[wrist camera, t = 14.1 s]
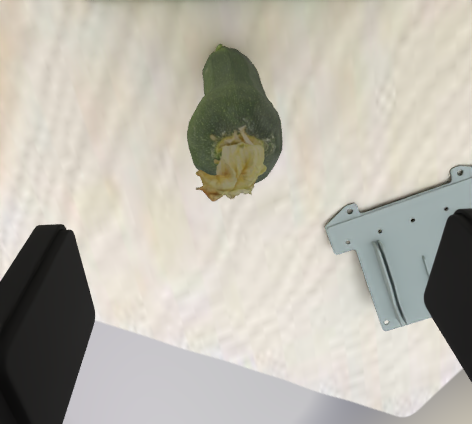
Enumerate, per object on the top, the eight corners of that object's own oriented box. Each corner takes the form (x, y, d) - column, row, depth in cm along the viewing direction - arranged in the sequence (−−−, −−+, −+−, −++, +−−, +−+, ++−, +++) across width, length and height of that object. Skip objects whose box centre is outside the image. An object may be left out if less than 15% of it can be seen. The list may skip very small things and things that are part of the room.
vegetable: (266, 70, 30) (342, 207, 13) (226, 112, 32) (250, 285, 15) (222, 26, 29) (244, 118, 12) (182, 73, 30) (151, 216, 13)
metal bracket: (534, 307, 37) (371, 356, 39) (497, 279, 42) (356, 323, 44) (501, 159, 33) (324, 221, 35) (465, 149, 39) (314, 203, 41)
